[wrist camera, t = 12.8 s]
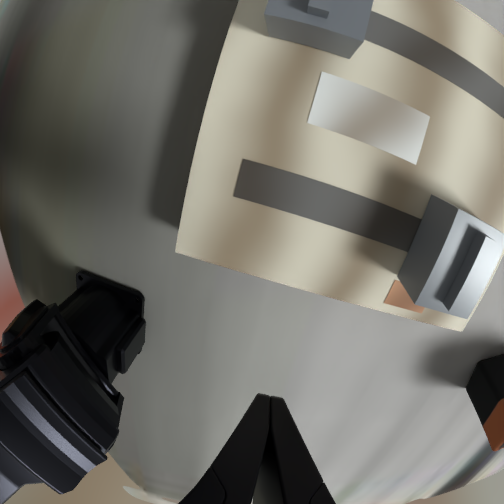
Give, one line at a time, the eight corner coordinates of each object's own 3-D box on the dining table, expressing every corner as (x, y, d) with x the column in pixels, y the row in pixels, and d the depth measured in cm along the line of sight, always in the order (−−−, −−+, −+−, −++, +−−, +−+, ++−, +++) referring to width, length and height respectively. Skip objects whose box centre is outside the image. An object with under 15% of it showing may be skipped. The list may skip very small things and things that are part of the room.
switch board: (191, 234, 19) (174, 252, 16) (269, -42, 11) (265, -66, 9) (446, 309, 19) (462, 332, 16) (522, 77, 11) (546, 75, 8)
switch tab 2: (396, 276, 15) (419, 313, 12) (431, 194, 13) (467, 213, 10) (446, 292, 15) (473, 327, 12) (480, 219, 13) (517, 242, 10)
